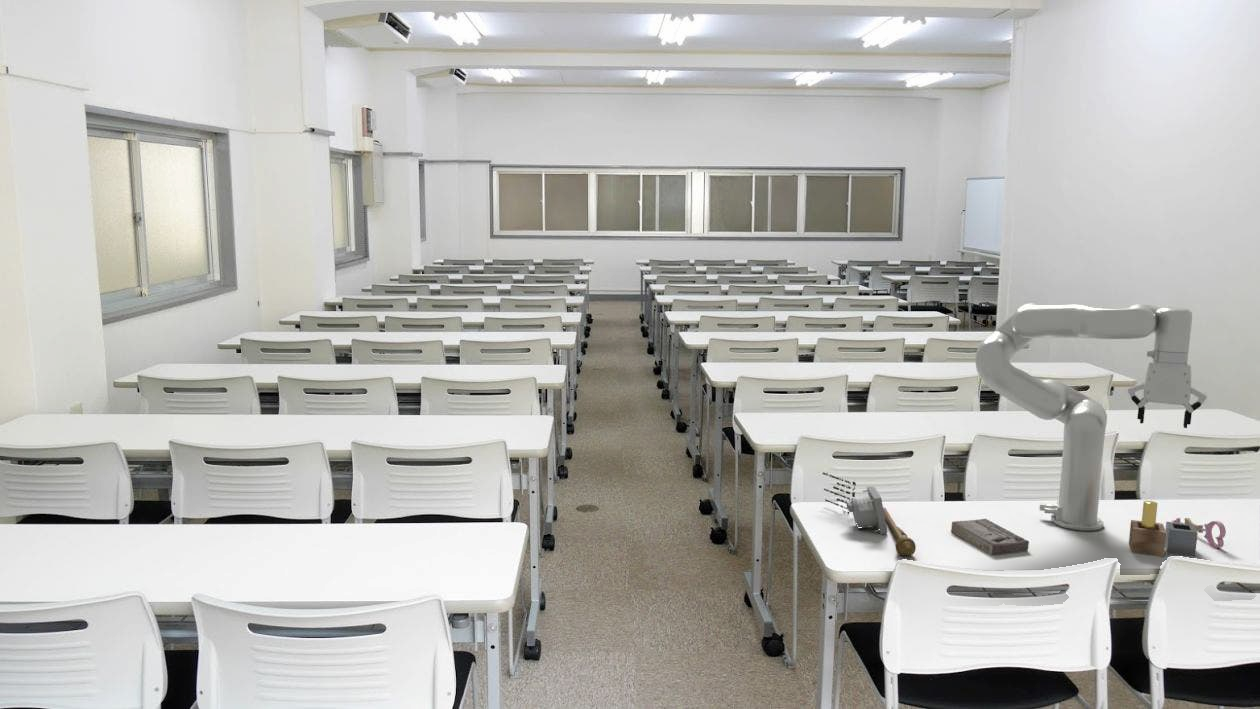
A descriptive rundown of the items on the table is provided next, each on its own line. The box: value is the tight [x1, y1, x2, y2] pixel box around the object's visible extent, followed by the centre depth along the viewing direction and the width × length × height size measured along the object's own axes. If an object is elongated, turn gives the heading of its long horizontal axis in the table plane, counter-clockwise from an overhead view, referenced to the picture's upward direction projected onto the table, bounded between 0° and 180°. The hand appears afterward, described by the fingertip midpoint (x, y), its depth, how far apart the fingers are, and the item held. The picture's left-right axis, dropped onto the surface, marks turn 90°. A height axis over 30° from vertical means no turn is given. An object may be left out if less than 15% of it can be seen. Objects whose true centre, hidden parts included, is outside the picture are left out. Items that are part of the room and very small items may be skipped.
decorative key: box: [1171, 517, 1227, 549], centre depth 249 cm, size 7×1×20 cm
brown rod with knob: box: [883, 506, 917, 557], centre depth 249 cm, size 5×35×5 cm
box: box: [950, 518, 1030, 556], centre depth 245 cm, size 11×17×3 cm, turn 17°
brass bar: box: [1141, 500, 1158, 530], centre depth 239 cm, size 3×3×12 cm
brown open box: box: [1128, 519, 1166, 557], centre depth 239 cm, size 7×7×6 cm
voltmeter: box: [822, 472, 889, 536], centre depth 259 cm, size 27×11×10 cm, turn 33°
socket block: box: [1165, 521, 1199, 557], centre depth 239 cm, size 6×6×6 cm
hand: (1163, 424), depth 245 cm, fingers open, 9 cm apart
